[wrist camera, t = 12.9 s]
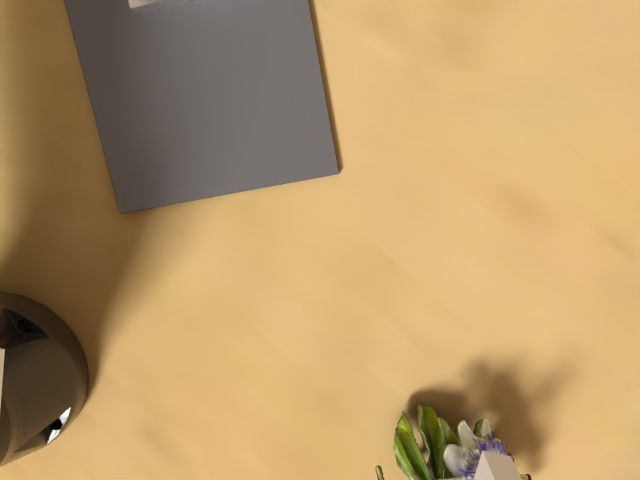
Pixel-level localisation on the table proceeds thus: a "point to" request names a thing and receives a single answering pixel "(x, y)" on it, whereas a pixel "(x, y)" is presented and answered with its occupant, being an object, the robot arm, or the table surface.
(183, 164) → the mat
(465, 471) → the passion flower
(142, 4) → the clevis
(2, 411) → the robot arm
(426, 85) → the table surface
